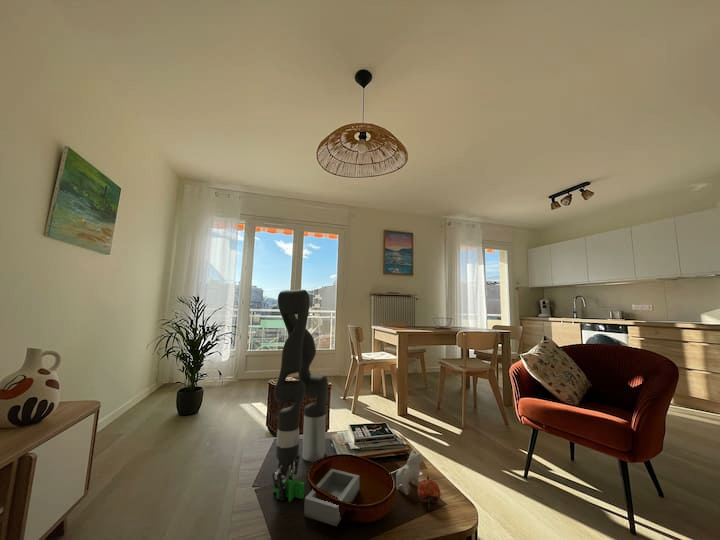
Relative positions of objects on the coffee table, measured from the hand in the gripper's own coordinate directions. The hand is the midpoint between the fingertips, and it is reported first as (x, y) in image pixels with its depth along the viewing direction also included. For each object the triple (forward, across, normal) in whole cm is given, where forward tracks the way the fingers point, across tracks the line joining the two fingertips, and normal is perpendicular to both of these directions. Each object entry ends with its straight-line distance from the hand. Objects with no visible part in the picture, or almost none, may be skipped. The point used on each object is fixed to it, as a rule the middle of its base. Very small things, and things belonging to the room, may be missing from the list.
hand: (285, 495), depth 99 cm
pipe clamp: (+1, 0, 0) cm, 1 cm away
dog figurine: (+1, -20, +38) cm, 43 cm away
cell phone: (+1, -25, +34) cm, 43 cm away
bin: (+1, -3, +16) cm, 16 cm away
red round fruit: (+1, -13, +46) cm, 48 cm away
